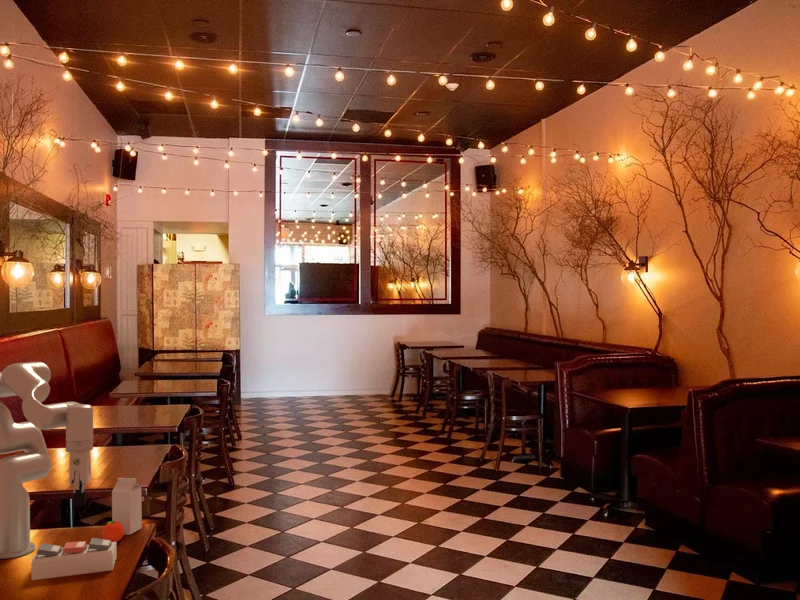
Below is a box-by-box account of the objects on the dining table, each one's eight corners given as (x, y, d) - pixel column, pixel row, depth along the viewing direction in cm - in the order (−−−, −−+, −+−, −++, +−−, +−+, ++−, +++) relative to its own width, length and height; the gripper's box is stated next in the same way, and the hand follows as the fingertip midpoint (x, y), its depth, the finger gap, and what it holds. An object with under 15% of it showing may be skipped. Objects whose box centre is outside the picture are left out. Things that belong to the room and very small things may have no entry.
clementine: (94, 544, 223) (94, 523, 223) (108, 537, 230) (108, 517, 230) (115, 546, 221) (115, 525, 221) (128, 539, 228) (128, 518, 228)
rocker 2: (88, 548, 200) (89, 543, 200) (90, 542, 205) (92, 537, 205) (107, 550, 201) (108, 546, 201) (109, 544, 207) (111, 540, 207)
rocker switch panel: (31, 580, 194) (31, 559, 194) (39, 566, 204) (39, 547, 204) (112, 570, 200) (112, 550, 201) (116, 557, 211) (116, 538, 211)
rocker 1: (36, 554, 195) (37, 549, 196) (40, 547, 201) (41, 542, 201) (56, 557, 197) (58, 552, 197) (60, 550, 202) (61, 545, 202)
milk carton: (130, 535, 232) (129, 481, 232) (112, 534, 233) (111, 480, 234) (142, 528, 239) (141, 476, 239) (124, 527, 240) (123, 475, 240)
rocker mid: (62, 553, 198) (63, 548, 198) (66, 546, 203) (66, 542, 203) (83, 551, 199) (83, 547, 199) (86, 545, 205) (86, 540, 205)
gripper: (89, 449, 196) (89, 511, 196) (96, 439, 211) (96, 497, 211) (61, 451, 194) (61, 513, 194) (70, 441, 208) (70, 499, 208)
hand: (79, 504), depth 202 cm, fingers closed
